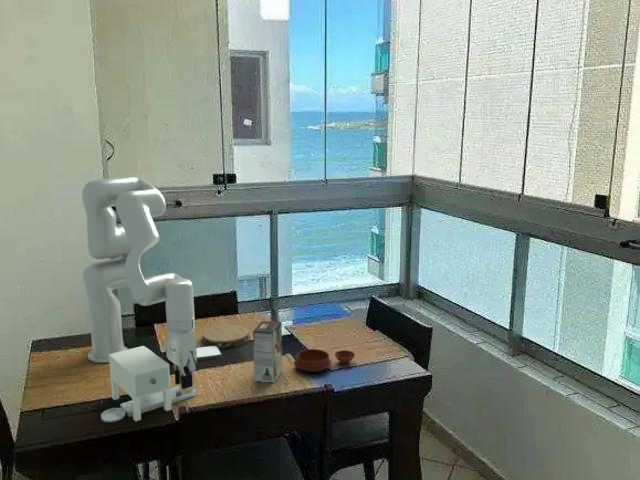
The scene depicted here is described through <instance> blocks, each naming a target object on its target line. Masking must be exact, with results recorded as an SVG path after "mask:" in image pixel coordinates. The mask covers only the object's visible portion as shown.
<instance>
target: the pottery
mask: <svg viewBox="0 0 640 480" xmlns="http://www.w3.org/2000/svg"><path fill="white" fill-rule="evenodd" d="M334 356H335V358H336V359H337V360H338V362H339V364H340V365H343V366H344V365H345V366H346V365H349V364H350V362H351V361H352V360H353V359H354V358H355V356H356V354H355V352H353V351H351V350H338V351H336V352H335V353H334ZM332 363H333V362H332V360H331V359H330V355H329V353H328V352H327V351H326V350H322V349H316V348H312V349H311V348H309V349H303V350H301V351H299V352H298V353H297V354H296V359H295V360H294V362H293V365H294V366H295V367H296V368H298V369H300V370H304V371H306V372H307V373H317V372H321V371H323V370H326V369H328V368H330V367H331V366H332Z"/></svg>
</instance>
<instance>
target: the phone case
mask: <svg viewBox="0 0 640 480" xmlns="http://www.w3.org/2000/svg"><path fill="white" fill-rule="evenodd" d="M196 351H197V362H198V361H206V360H207V361H208V360H213V359H219V358H222V357H223V354H222V351H221V350H220V348H218V346H202V347H196ZM172 364H173V365H174V363H173V362H172Z"/></svg>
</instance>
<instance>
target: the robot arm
mask: <svg viewBox="0 0 640 480" xmlns="http://www.w3.org/2000/svg"><path fill="white" fill-rule="evenodd" d="M81 197H82V198H81V199H82V202H83V203H82V204H83V207H84V210H85V213H86V227H87V228H86V229H87V230H86V232H87V233H86V234H87V250H88V251H87V252H88V254H89V256H90V257H91V258H92V259H95V260H102V261H97V262H94V263H91V264H89V265H87V266H86V267H85V269H84V270H83V272H82V281H83V283H84V286H85V290H86V291H85V292H86V295H87V302H88V313H89V323H90V334H91V335H90V336H91V347H92V350H90V351H89V352H88V354H87V359H88V360H89V361H91V362H93V363H97V364H98V363H99V364H100V363H101V364H102V363H103V364H104V363H106V364H107V363H109V354H113V353H116V352H120V351H124V350H128V349H129V348H128V347H127V346H124V340H123V338H124V337H123V327H122V325H123V324H122V311H121V303H120V300H119V298H118V296H116V295H115V294H114V293H113V290H117V289H120V288H125V287H129V290H130V293H131V295H132V297H133V299H134V301H135V302H136V303H137V304H138V305H140V306H144V307H145V306H146V307H147V306H150V305H151V306H152V305H155V304H159V303H163V302H165V316H166V335H165V336H166V338H165V339H166V340H165V342H166V343H165V348H166V349H165V351H166V359H168V360H169V361H170V362H173V363H174V364H173V363H172V364H173V370H174V383H175V385H179V373H178V366H179V367H180V368H182V375H181V388H182V389H186V388H189V387H192V386H193V383H194V380H193V381H192V374H193V375H194V371H196V370H197V368H196V364H197V362H198V361H197V351H196V348H197V342H196V337H195V329H196V326H195V325H196V324H195V323H196V322H195V302H194V301H195V299H194V284H193V282H192V280H190V279H188V278H183V277H181V276H180V275H179V274H177V273H175V272H166V273H162V274H156V275H152V276H148V277H145V276H144V275H143V273H142V270H141V264H140V262H141V257H142V256H143V255H144V253H145V252H146V251H148V250H149V249H152V248H153V247H154V246H156V245H157V244H158V242H159V241H160V239H161V238H160V234H159V231H158V228H157V226H156V224H155V220H153V218H156V217H158V218H159V217H161V216H163V215H164V214H165V212H166V209H167V203H166V200H165V197H164V196H163V194H162V193H161V191H160V190H159V189H158V188H156V187H155V186H154V185H152V184H150V183H149V182H147V181H146V180H144V179H142V178H140V177H137V176H125V177H124V176H123V177H110V178H109V177H108V178H99V179H94V180H91V181H88V182H87V183H85V185H83V188H82V193H81ZM112 207H115V210H116V212H115V211H114V209H113V208H112ZM116 213H117V214H118V217H119V221H120V223H121V225H117V216H116V215H117V214H116ZM115 257H116V258H115ZM117 257H118V258H117ZM110 258H114V259H110ZM105 259H106V260H105ZM187 362H188V363H187ZM188 366H189V368H186V370H185V367H188Z"/></svg>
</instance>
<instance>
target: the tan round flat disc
mask: <svg viewBox="0 0 640 480" xmlns="http://www.w3.org/2000/svg"><path fill="white" fill-rule="evenodd" d="M248 341H249V330H248V329H247V328H246V327H244V326H241V325H237V324H221V325H220V324H219V325H215V326H210V327H209V328H206V329H205V330H204V331H203V332H202V344H204V345H205V347H208V346H218V348H219V349H223V350H224V349H232V348H237V347H240V346H242V345H245V344H246V343H247V342H248Z"/></svg>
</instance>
